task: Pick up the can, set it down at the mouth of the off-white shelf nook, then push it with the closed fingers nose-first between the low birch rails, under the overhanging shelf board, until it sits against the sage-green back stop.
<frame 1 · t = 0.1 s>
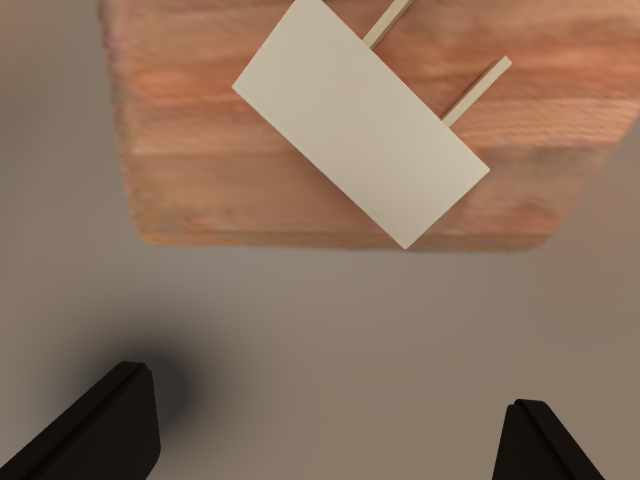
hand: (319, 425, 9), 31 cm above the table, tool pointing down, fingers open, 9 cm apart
shelf nook: (387, 106, 35), on the table
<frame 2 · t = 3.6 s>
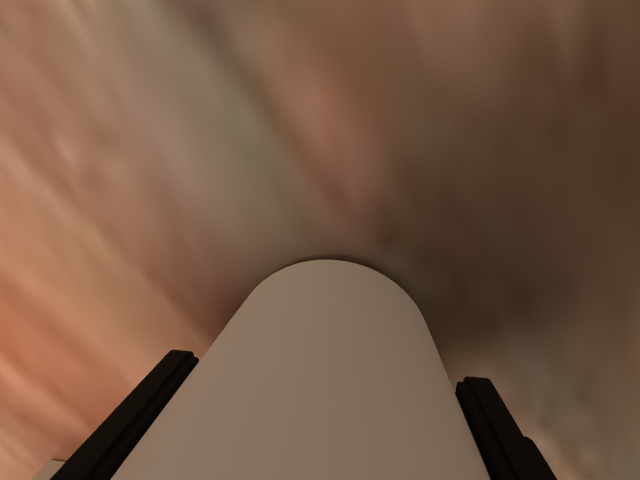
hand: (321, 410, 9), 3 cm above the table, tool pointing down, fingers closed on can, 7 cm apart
can: (331, 339, 13), on the table, touching gripper
when the fingers open (4 cm above the table, at t = 9.4 s): can stays where it is, on the table.
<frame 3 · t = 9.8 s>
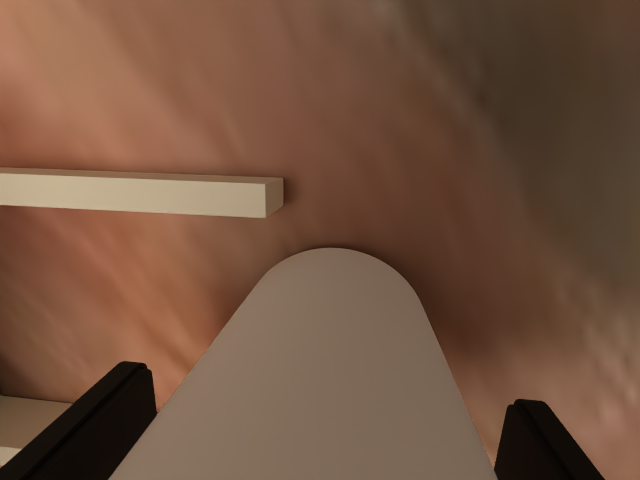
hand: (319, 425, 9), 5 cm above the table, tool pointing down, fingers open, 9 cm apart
shelf nook: (58, 308, 14), on the table
can: (334, 324, 13), on the table
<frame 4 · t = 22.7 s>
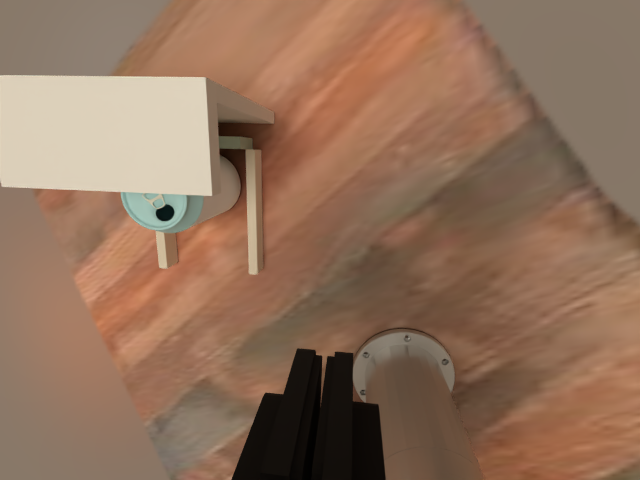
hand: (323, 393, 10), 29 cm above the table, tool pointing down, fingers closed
shelf nook: (211, 183, 38), on the table
can: (214, 183, 39), resting in shelf nook
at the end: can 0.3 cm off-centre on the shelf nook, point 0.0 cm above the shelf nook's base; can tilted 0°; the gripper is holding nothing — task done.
